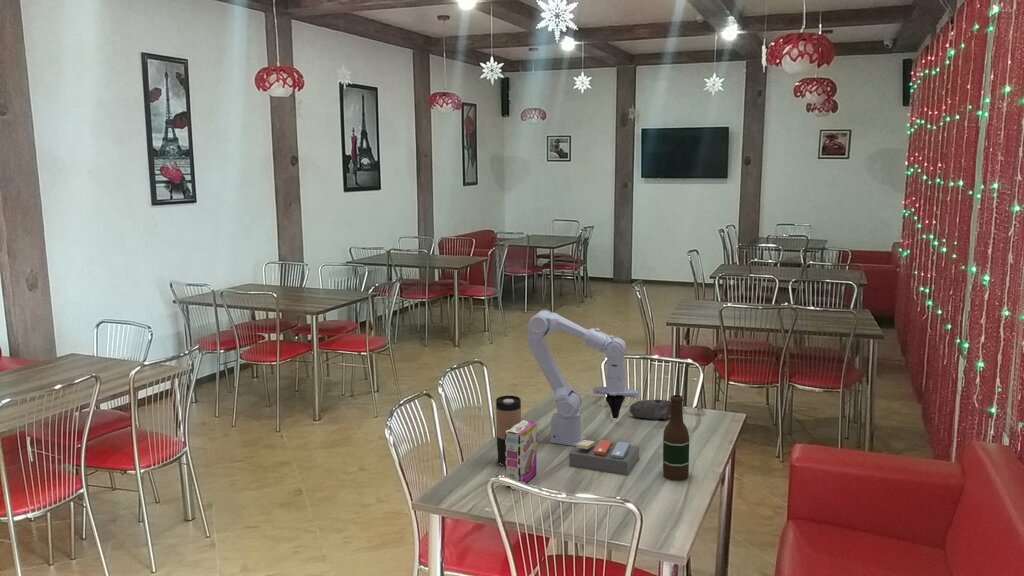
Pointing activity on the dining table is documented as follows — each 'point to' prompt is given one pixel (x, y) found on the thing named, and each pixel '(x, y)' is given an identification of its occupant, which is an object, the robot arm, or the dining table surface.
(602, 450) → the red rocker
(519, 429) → the candy bar box
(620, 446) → the slate rocker
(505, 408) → the travel mug
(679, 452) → the beer bottle
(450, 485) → the dining table surface
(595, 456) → the rocker switch panel
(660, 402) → the perforated stone tool
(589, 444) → the block
